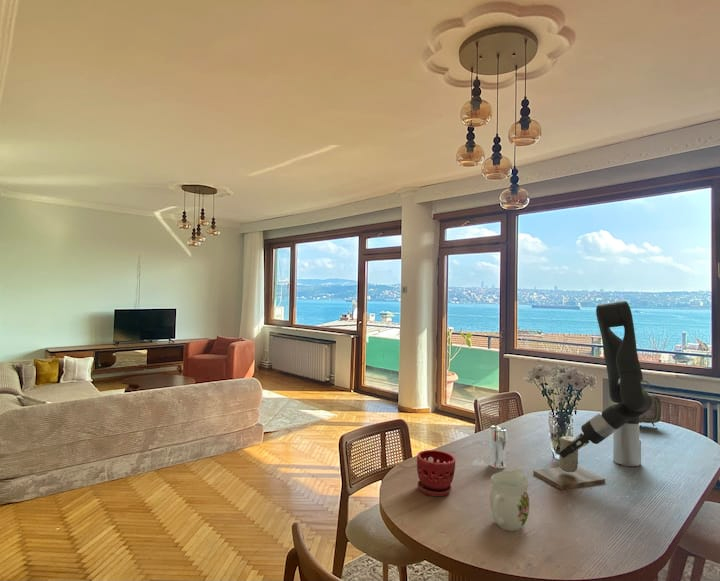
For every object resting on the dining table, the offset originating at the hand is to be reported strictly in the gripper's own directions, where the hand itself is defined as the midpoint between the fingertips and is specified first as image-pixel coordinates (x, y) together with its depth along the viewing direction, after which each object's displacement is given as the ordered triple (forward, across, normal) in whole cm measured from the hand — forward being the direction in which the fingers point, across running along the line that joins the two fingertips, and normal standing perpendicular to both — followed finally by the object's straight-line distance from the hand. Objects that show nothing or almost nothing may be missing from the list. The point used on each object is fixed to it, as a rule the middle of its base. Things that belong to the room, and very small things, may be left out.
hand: (564, 452), depth 161 cm
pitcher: (+8, +49, +6) cm, 50 cm away
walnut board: (+6, 0, +8) cm, 9 cm away
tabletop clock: (-1, -101, +14) cm, 102 cm away
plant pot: (+27, +43, -14) cm, 53 cm away
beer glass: (+23, +7, -10) cm, 26 cm away
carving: (+3, 0, +5) cm, 6 cm away
